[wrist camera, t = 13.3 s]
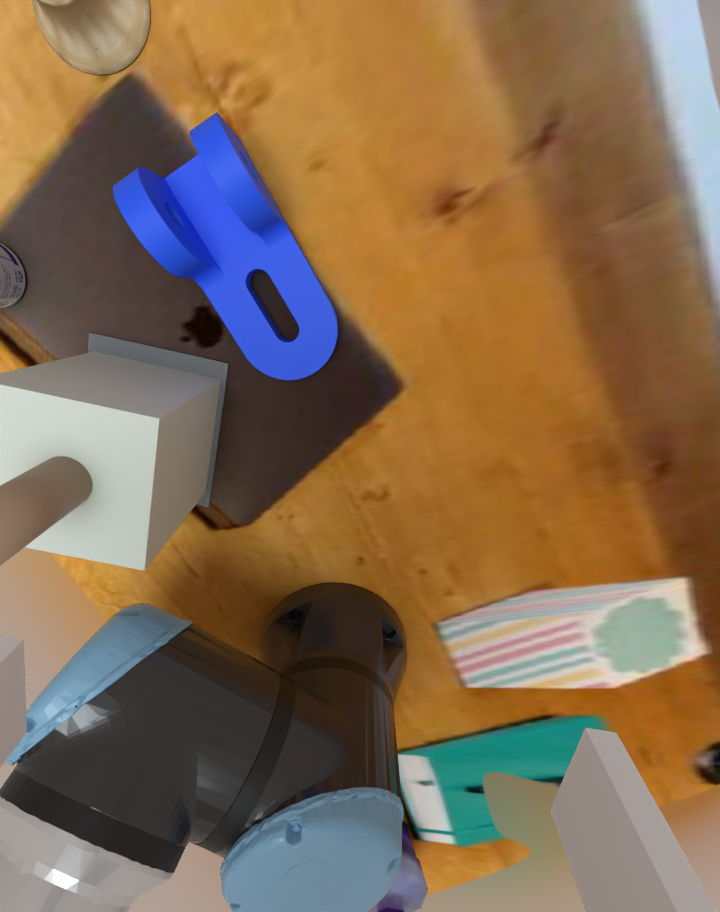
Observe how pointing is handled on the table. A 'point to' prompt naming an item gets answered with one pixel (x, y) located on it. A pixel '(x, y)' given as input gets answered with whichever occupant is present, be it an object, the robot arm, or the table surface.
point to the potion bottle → (405, 882)
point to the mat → (174, 362)
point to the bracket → (232, 249)
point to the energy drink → (10, 277)
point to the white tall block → (101, 456)
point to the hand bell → (95, 31)
